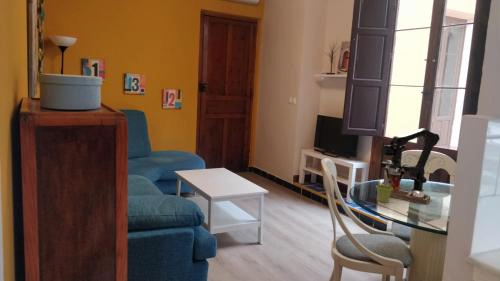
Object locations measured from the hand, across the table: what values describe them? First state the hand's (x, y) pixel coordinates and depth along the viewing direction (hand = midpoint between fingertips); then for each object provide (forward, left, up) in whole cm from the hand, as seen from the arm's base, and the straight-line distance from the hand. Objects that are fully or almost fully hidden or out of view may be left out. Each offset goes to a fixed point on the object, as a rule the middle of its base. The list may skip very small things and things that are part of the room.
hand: (394, 179), depth 260 cm
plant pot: (+29, +2, -8) cm, 30 cm away
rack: (+11, +12, -8) cm, 18 cm away
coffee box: (-19, -8, -8) cm, 22 cm away
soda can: (0, 0, -8) cm, 8 cm away
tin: (+11, +17, -8) cm, 22 cm away
